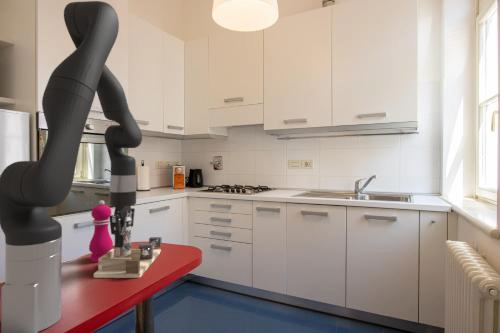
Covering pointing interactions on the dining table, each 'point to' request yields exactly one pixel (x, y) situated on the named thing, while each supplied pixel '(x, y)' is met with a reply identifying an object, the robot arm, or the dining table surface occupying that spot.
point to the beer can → (125, 241)
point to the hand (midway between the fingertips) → (122, 244)
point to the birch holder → (126, 263)
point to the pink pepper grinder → (100, 232)
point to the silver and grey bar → (156, 243)
